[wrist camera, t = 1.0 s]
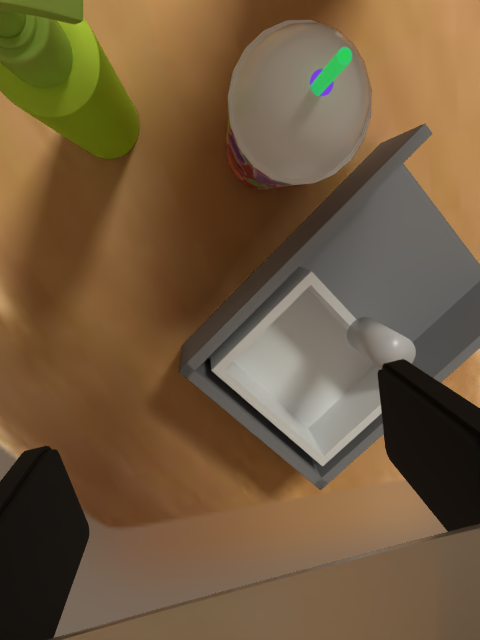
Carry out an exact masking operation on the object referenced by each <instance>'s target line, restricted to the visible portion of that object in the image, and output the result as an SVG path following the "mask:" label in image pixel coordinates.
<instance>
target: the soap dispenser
mask: <svg viewBox="0 0 480 640" xmlns="http://www.w3.org/2000/svg"><path fill="white" fill-rule="evenodd" d="M0 91H1V92H2V93H3V94H4V95H5V96H6V97H7V98H8V99H9V100H10V101H11V102H12V103H14V104H15V105H16V106H18V107H19V108H21V109H22V110H24V111H25V112H27V113H29V114H30V115H32V116H33V117H35V118H36V119H38V120H39V121H41V122H43V123H44V124H46V125H47V126H49V127H50V128H52V129H53V130H55V131H56V132H58V133H60V134H61V135H63V136H64V137H66V138H67V139H69V140H70V141H72V142H74V143H75V144H77V145H78V146H80V147H81V148H83V149H84V150H86V151H87V152H89V153H91V154H92V155H94V156H97V157H100V158H105V159H113V158H118V157H121V156H123V155H125V154H126V153H127V152H129V151H130V150H131V149H132V147H133V146H134V145H135V143H136V141H137V138H138V134H139V118H138V114H137V111H136V109H135V107H134V105H133V103H132V101H131V100H130V98H129V96H128V94H127V92H126V91H125V89H124V87H123V85H122V83H121V82H120V80H119V78H118V76H117V74H116V73H115V71H114V69H113V67H112V65H111V64H110V62H109V60H108V58H107V56H106V55H105V53H104V51H103V49H102V47H101V46H100V44H99V42H98V40H97V38H96V37H95V35H94V33H93V31H92V30H91V28H90V26H89V24H88V23H87V21H86V20H85V18H84V17H83V0H0Z"/></svg>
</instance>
